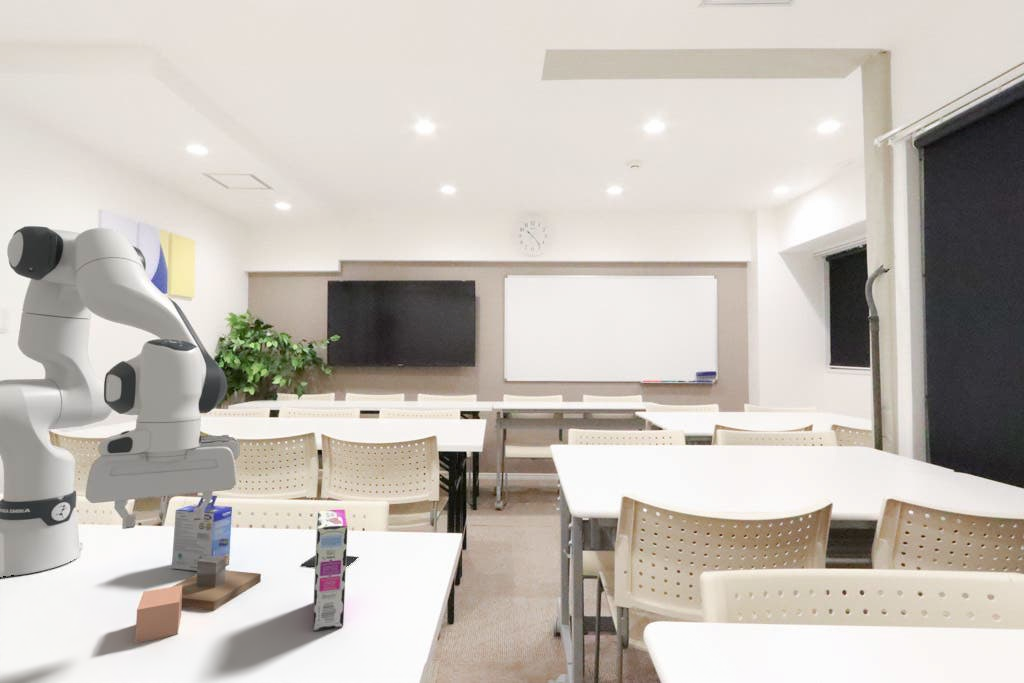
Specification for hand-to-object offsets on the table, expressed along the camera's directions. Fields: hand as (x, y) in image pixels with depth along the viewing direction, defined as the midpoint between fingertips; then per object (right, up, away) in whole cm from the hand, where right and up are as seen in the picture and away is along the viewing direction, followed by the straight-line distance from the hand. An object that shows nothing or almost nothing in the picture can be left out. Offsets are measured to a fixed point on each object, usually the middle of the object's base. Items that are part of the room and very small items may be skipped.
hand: (164, 523), depth 82 cm
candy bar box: (+25, -18, +5) cm, 31 cm away
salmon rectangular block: (0, -17, -1) cm, 17 cm away
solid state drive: (+17, -19, +27) cm, 37 cm away
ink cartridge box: (-9, -18, +24) cm, 31 cm away
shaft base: (0, -17, +12) cm, 21 cm away
